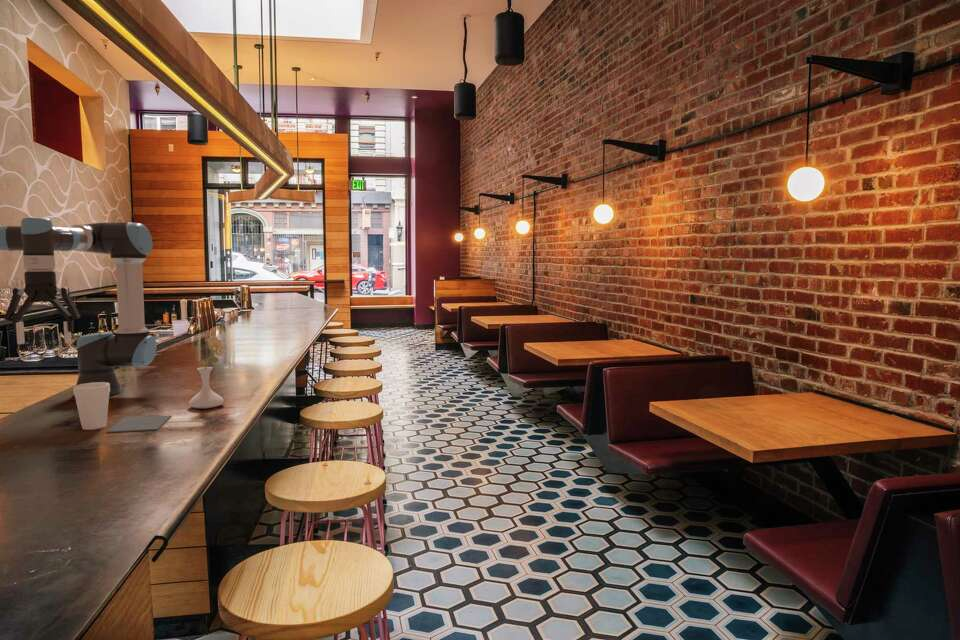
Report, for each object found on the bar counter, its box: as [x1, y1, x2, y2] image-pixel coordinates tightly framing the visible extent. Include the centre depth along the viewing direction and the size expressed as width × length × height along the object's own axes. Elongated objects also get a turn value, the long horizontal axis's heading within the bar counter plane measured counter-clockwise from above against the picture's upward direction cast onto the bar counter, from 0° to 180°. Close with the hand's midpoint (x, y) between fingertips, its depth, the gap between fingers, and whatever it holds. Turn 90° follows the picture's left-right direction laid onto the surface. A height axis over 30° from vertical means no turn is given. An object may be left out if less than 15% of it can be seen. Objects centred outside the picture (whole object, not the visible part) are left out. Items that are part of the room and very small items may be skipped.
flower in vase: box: [187, 334, 226, 409], centre depth 212 cm, size 13×11×25 cm
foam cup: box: [72, 382, 110, 431], centre depth 187 cm, size 10×9×13 cm
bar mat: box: [105, 414, 172, 434], centre depth 191 cm, size 16×14×1 cm
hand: (44, 343), depth 182 cm, fingers open, 12 cm apart
